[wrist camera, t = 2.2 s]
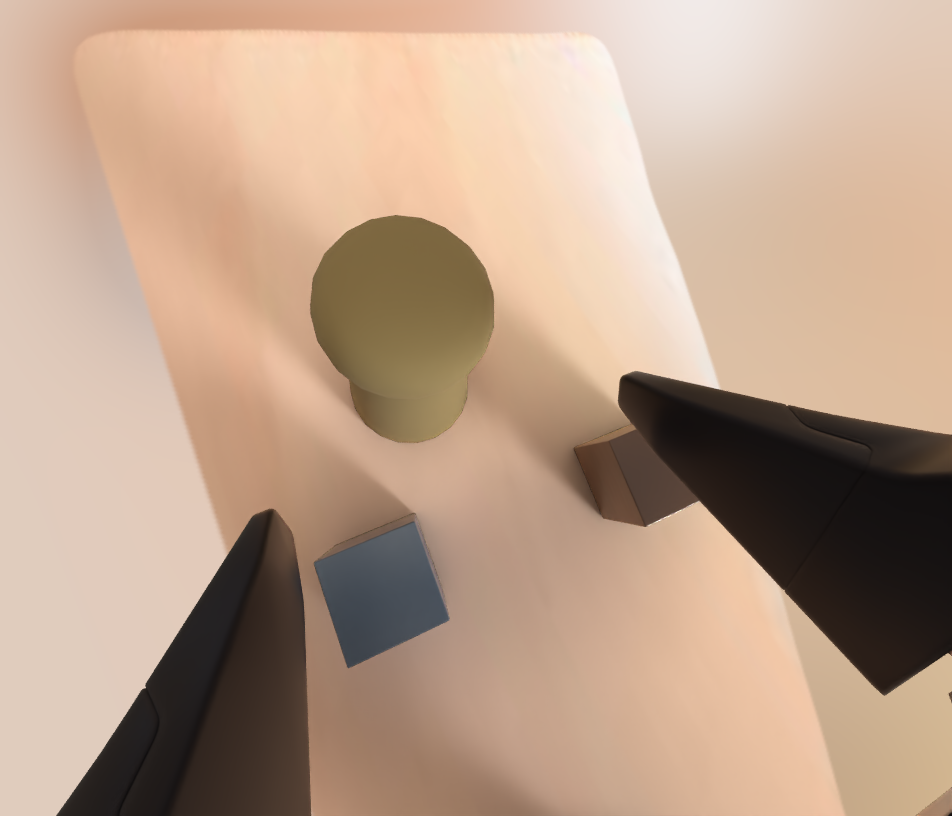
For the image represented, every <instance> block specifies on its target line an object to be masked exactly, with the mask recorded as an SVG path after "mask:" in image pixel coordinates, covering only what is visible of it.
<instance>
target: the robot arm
mask: <svg viewBox="0 0 952 816" xmlns="http://www.w3.org/2000/svg"><path fill="white" fill-rule="evenodd" d="M618 403H619V406H620V408H621V410H622V411H623V413H624V414H625V415H626V417H627V418H628V419H629V421H630V422H631V423H632V424H633V426H634V427H635V428H636V430H637V431H638V432H639V434H640V435H641V436H642V438H643V439H644V440H645V442H646V443H647V444H648V445H649V447H650V448H651V449H652V450H653V452H654V453H655V454H656V455H657V456H658V457H659V458H660V459H661V460H662V461H663V463H664V464H665V465H666V466H667V467H668V468H669V469H670V470H671V471H672V472H673V473H674V474H675V475H676V476H677V477H678V478H679V480H680V481H681V482H682V483H683V484H684V485H685V486H686V487H687V488H688V489H689V490H690V491H691V492H692V493H693V494H694V496H695V497H696V498H697V499H698V500H699V501H700V502H701V503H702V504H703V505H704V506H705V507H706V508H707V509H708V510H709V511H710V513H711V514H712V515H713V516H714V517H715V518H716V519H717V520H718V521H719V522H720V523H721V524H722V525H723V526H724V527H725V529H726V530H727V531H728V532H729V533H730V534H731V535H732V536H733V537H734V538H735V539H736V540H737V541H738V542H739V543H740V544H741V546H742V547H743V548H744V549H745V550H746V551H747V552H748V553H749V554H750V555H751V556H752V557H753V558H754V559H755V560H756V562H757V563H758V564H759V565H760V566H761V567H762V568H763V569H764V570H765V571H766V572H767V573H768V574H769V575H770V576H771V577H772V579H773V580H774V581H775V582H776V583H777V584H778V585H779V586H780V587H781V588H782V589H783V590H785V593H786V594H787V595H788V596H789V597H790V598H791V599H792V600H793V601H794V602H795V603H796V604H797V605H798V607H799V608H800V609H801V610H802V611H803V612H804V613H805V614H806V615H807V616H808V617H809V618H810V619H811V620H812V621H813V622H814V624H815V625H816V626H817V627H818V628H819V629H820V630H821V631H822V632H823V633H824V634H825V635H826V636H827V637H828V638H829V640H830V641H831V642H832V643H833V644H834V645H835V646H836V647H837V648H838V649H839V650H840V651H841V652H842V653H843V654H844V655H845V657H846V658H847V659H848V660H849V661H850V662H851V663H852V664H853V665H854V666H855V667H856V668H857V669H858V670H859V671H860V673H862V675H863V676H864V677H865V678H866V679H867V680H868V681H869V682H870V683H871V684H872V685H873V686H874V687H875V688H876V689H877V690H878V691H879V692H880V693H881V694H883V695H884V696H885V695H887V694H888V693H890V692H891V691H893V690H894V689H895V688H897V687H898V686H900V685H901V684H903V683H904V682H906V681H907V680H909V679H910V678H911V677H913V676H915V675H916V674H918V673H919V672H920V671H922V670H923V669H925V668H926V667H928V666H929V665H931V664H932V663H934V662H935V661H937V660H938V659H940V658H941V657H942V656H944V655H945V654H947V653H949V654H950V655H951V656H952V435H949V434H942V433H934V432H929V431H923V430H917V429H911V428H905V427H899V426H894V425H888V424H882V423H877V422H871V421H864V420H859V419H854V418H848V417H842V416H837V415H832V414H828V413H823V412H817V411H813V410H808V409H804V408H799V407H795V406H790V405H788V406H786V405H785V404H781V403H777V402H773V401H768V400H763V399H759V398H754V397H750V396H745V395H741V394H737V393H732V392H728V391H723V390H719V389H714V388H710V387H705V386H701V385H696V384H692V383H687V382H683V381H679V380H674V379H670V378H665V377H661V376H656V375H652V374H647V373H643V372H638V371H634V372H631V373H628V374H626V375H623V376H622V377H621V379H620V383H619V395H618ZM145 686H146V688H145V689H142V690H141V692H140V693H139V695H138V697H137V698H136V700H135V701H134V703H133V704H132V706H131V708H130V709H129V711H128V712H127V714H126V715H125V717H124V718H123V720H122V721H121V723H120V724H119V726H118V727H117V729H116V730H115V732H114V733H113V735H112V737H111V738H110V739H109V741H108V743H107V744H106V746H105V747H104V749H103V750H102V752H101V753H100V755H99V756H98V757H97V759H96V760H95V762H94V763H93V765H92V766H91V767H90V769H89V770H88V772H87V773H86V775H85V776H84V777H83V779H82V780H81V782H80V783H79V784H78V786H77V787H76V789H75V790H74V792H73V793H72V795H71V796H70V797H69V799H68V800H67V801H66V803H65V804H64V806H63V807H62V808H61V810H60V811H59V813H58V814H57V815H56V816H311V796H310V766H309V737H308V707H307V678H306V648H305V618H304V600H303V593H302V586H301V580H300V574H299V568H298V562H297V556H296V549H295V543H294V538H293V534H292V532H291V530H290V528H289V527H288V526H287V524H286V523H285V522H284V520H283V519H282V518H281V516H280V515H279V514H278V512H277V511H276V510H274V509H268V510H265V511H263V512H260V513H257V514H255V515H254V516H253V517H252V518H251V519H250V521H249V522H248V524H247V525H246V527H245V529H244V530H243V532H242V533H241V535H240V536H239V538H238V540H237V541H236V543H235V544H234V546H233V547H232V549H231V551H230V552H229V554H228V555H227V557H226V558H225V560H224V562H223V563H222V565H221V566H220V568H219V569H218V571H217V573H216V574H215V576H214V578H213V579H212V581H211V582H210V584H209V585H208V587H207V588H206V590H205V591H204V593H203V595H202V596H201V598H200V599H199V601H198V603H197V604H196V606H195V607H194V609H193V610H192V612H191V614H190V615H189V617H188V618H187V620H186V621H185V623H184V624H183V626H182V628H181V629H180V631H179V633H178V634H177V635H176V637H175V639H174V640H173V642H172V643H171V645H170V647H169V648H168V650H167V651H166V653H165V654H164V656H163V657H162V659H161V661H160V662H159V664H158V665H157V667H156V668H155V670H154V672H153V673H152V675H151V676H150V678H149V679H148V681H147V683H146V685H145ZM949 696H950V699H951V702H952V692H950V693H949ZM916 816H952V788H950V789H949V790H948V791H946V792H945V793H944V794H943V795H941V796H940V797H939V798H938V799H936V800H935V801H934V802H932V803H931V804H930V805H929V806H927V807H926V808H925V809H923V810H922V811H921V812H920V813H918V814H917V815H916Z"/></svg>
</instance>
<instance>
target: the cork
mask: <svg viewBox="0 0 952 816" xmlns="http://www.w3.org/2000/svg"><path fill="white" fill-rule="evenodd" d="M310 313H311V318H312V322H313V325H314V329H315V333H316V337H317V341H318V343H319V344H320V346H321V347H322V349H323V350H324V352H325V353H326V355H327V356H328V357H329V359H330V360H331V362H332V363H333V365H334V366H335V368H336V369H337V370H338V371H339V372H340V373H341V374H343V375H344V376H345V377H347V378H348V379H349V381H350V389H351V394H352V398H353V402H354V405H355V409H356V411H357V412H358V414H359V415H360V417H361V418H362V420H363V421H364V423H365V424H366V425H367V426H368V427H370V428H371V429H372V430H374V431H375V432H376V433H378V434H379V435H380V436H382V437H385V438H388V439H391V440H394V441H397V442H409V443H418V442H422V441H425V440H428V439H432V438H435V437H437V436H438V435H440V434H441V433H443V432H444V431H446V430H447V429H449V428H450V427H451V426H452V425H453V423H454V422H455V421H456V419H457V418H458V417H459V415H460V414H461V413H462V410H463V407H464V404H465V401H466V398H467V376H468V374H469V373H470V372H471V370H472V369H473V368H474V367H475V365H476V364H477V363H478V362H479V360H480V359H481V358H482V356H483V355H484V353H485V351H486V348H487V345H488V342H489V339H490V337H491V334H492V331H493V328H494V296H493V291H492V288H491V285H490V282H489V279H488V275H487V272H486V269H485V267H484V266H483V265H482V263H481V262H480V260H479V259H478V258H477V256H476V255H475V254H474V252H473V251H472V249H471V248H470V247H469V246H468V245H467V244H466V243H464V242H463V241H462V240H460V239H459V238H458V237H457V236H455V235H454V234H453V233H451V232H450V231H449V230H448V229H446V228H445V227H442V226H440V225H437V224H435V223H432V222H430V221H427V220H425V219H422V218H416V217H407V216H398V215H394V216H389V217H383V218H377V219H371V220H369V221H367V222H365V223H363V224H361V225H359V226H357V227H355V228H353V229H351V230H349V231H347V232H346V233H345V234H344V235H343V236H342V237H341V238H340V239H339V240H338V241H337V242H336V243H335V244H334V245H333V246H332V247H331V248H330V249H329V250H328V251H327V252H326V253H325V254H324V256H323V258H322V260H321V262H320V264H319V266H318V268H317V271H316V273H315V275H314V277H313V283H312V293H311V303H310Z"/></svg>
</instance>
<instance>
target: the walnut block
mask: <svg viewBox="0 0 952 816" xmlns="http://www.w3.org/2000/svg"><path fill="white" fill-rule="evenodd" d="M574 450H575V452H576V454H577V457H578V459H579V462H580V464H581V466H582V469H583V471H584V474H585V476H586V478H587V481H588V483H589V486H590V488H591V490H592V493H593V495H594V498H595V500H596V502H597V505H598V507H599V510H600V512H601V514H602V517H603V518H604V519H609V520H614V521H619V522H624V523H629V524H634V525H639V526H643V527H647V526H649V525H651V524H653V523H655V522H657V521H660V520H662V519H664V518H666V517H668V516H670V515H672V514H674V513H676V512H679V511H681V510H683V509H685V508H687V507H689V506H691V505H693V504H695V503H697V502H700V501H699V500H698V499H697V498H696V497H695V496H694V494H693V493H692V492H691V491H690V490H689V489H688V488H687V487H686V486H685V485H684V484H683V483H682V482H681V481H680V480H679V478H678V477H677V476H676V475H675V474H674V473H673V472H672V471H671V470H670V469H669V468H668V467H667V466H666V465H665V464H664V463H663V461H662V460H661V459H660V458H659V457H658V456H657V455H656V454H655V453H654V452H653V450H652V449H651V448H650V447H649V445H648V444H647V443H646V442H645V440H644V439H643V438H642V436H641V435H640V434H639V432H638V431H637V430H636V428H635V427H634V426H633V424H631V425H628V426H626V427H623V428H621V429H618V430H616V431H613V432H611V433H609V434H606V435H604V436H601V437H599V438H596V439H594V440H591V441H589V442H587V443H584V444H582V445H579V446H577V447H575V448H574Z"/></svg>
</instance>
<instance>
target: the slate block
mask: <svg viewBox="0 0 952 816" xmlns="http://www.w3.org/2000/svg"><path fill="white" fill-rule="evenodd" d="M314 566H315V569H316V572H317V575H318V578H319V581H320V584H321V587H322V591H323V594H324V597H325V600H326V603H327V606H328V609H329V612H330V615H331V618H332V621H333V624H334V628H335V631H336V634H337V637H338V640H339V643H340V646H341V649H342V652H343V655H344V658H345V662H346V665H347V667H348V668H350V667H353V666H355V665H357V664H359V663H361V662H363V661H365V660H367V659H369V658H371V657H374V656H376V655H378V654H380V653H382V652H384V651H386V650H388V649H390V648H392V647H395V646H397V645H399V644H401V643H403V642H405V641H407V640H409V639H411V638H413V637H416V636H418V635H420V634H422V633H424V632H426V631H428V630H430V629H432V628H435V627H437V626H439V625H441V624H443V623H445V622H447V621H449V620H450V618H449V614H448V610H447V605H446V601H445V597H444V593H443V589H442V587H441V584H440V581H439V578H438V575H437V573H436V570H435V567H434V564H433V562H432V559H431V556H430V553H429V551H428V548H427V545H426V542H425V539H424V537H423V534H422V531H421V528H420V526H419V523H418V520H417V517H416V514H415V513H413V514H411V515H408V516H406V517H403V518H401V519H398V520H396V521H393V522H391V523H389V524H386V525H384V526H381V527H379V528H376V529H374V530H371V531H369V532H367V533H364V534H362V535H359V536H357V537H354V538H352V539H349V540H347V541H345V542H342V543H340V544H337V545H335V546H334V547H333V548H332V549H330V550H329V551H328V552H327V553H325V554H324V555H323V556H322V557H320V558H319V559H318V560H317V561H315V562H314Z"/></svg>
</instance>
